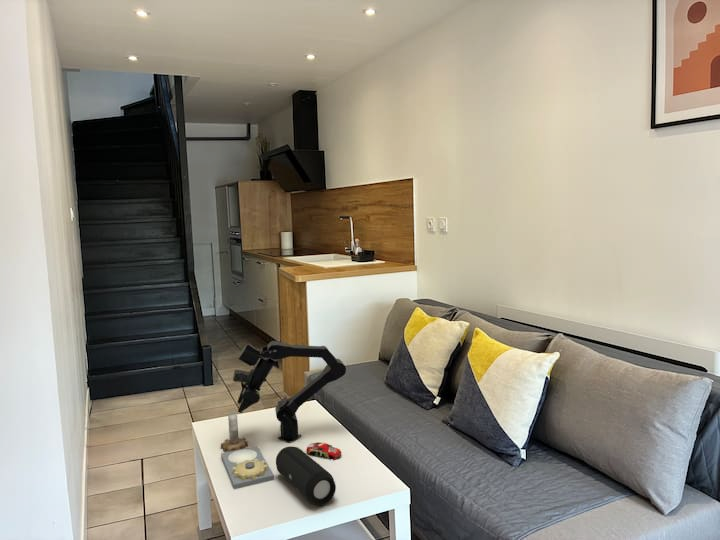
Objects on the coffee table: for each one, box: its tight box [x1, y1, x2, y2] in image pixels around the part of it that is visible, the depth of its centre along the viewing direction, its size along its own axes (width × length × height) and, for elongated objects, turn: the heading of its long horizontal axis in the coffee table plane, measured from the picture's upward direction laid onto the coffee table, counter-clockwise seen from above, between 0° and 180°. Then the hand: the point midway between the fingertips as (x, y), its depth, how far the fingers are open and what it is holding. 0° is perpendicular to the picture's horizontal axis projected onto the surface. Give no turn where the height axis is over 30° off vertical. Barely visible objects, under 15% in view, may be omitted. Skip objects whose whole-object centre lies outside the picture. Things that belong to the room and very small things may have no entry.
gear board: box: [220, 445, 275, 490], centre depth 184 cm, size 24×13×4 cm, turn 24°
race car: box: [305, 442, 342, 460], centre depth 193 cm, size 13×5×4 cm, turn 64°
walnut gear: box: [220, 412, 249, 453], centre depth 200 cm, size 10×10×12 cm
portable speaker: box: [275, 446, 337, 506], centre depth 170 cm, size 26×10×10 cm, turn 33°
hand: (238, 407), depth 201 cm, fingers open, 9 cm apart
